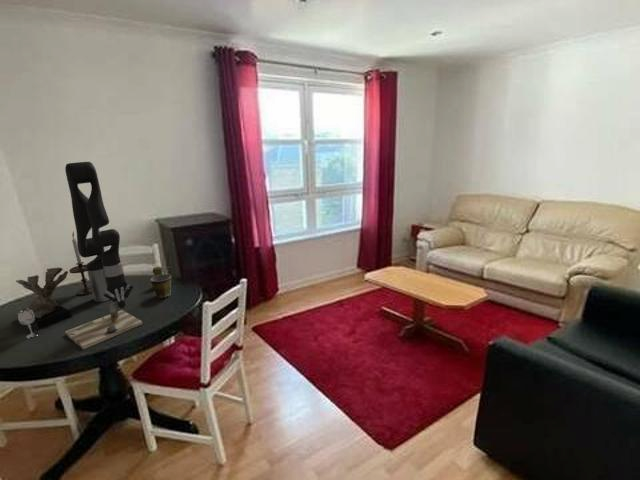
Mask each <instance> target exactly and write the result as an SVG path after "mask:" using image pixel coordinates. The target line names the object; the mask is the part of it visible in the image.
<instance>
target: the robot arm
mask: <svg viewBox="0 0 640 480" xmlns="http://www.w3.org/2000/svg"><path fill="white" fill-rule="evenodd" d="M64 169H65V170H64V171H65V175H66V180H67V183H68V184H67V185H68V189H69V193H70V198H71V199H70V200H71V207H72V208H71V209H72V213H73V214H72V215H73V220H74V224H75V225H74V226H75V229H76V230H75V231H76V241H77V245H78V251H79V254H80V257H81V258H84V259H85V258H90V257H94V256H95V258H94V259H92V260H91V261H89V262H87V264H85V265H86V269H87V271H86V272H87V275H88V279H89V284H90V287H91V289H92V296H93V301H94V302H97V303H102V302H107V301H109V300H110V301H112V302H113V303H116V305H117V308H119V309H121V310H123V309H125V307H126V301H125V300H126V299H128V298H129V296H130V294H131V292H132V290H133V288H134V286H133V285H131V284H128V283H127V282H126V278H125V273H124V268H123V265H122V261H121V257H120V241H121V239H120V234H119V231H118V230H116V229H115V228H110V229H107V230H106V229H105V230H100V229H102V228H104V227H106V226H108V225H109V223H110V219H109V216H108V213H107V210H106V207H105V205H104V201H103V196H102V191H101V186H100V183H99V182H100V181H99V178H98V172H97V169H96V167H95V165H94V164H93V163H92V162H91V161H81V162H80V161H79V162H70V163H66V164H65V168H64ZM89 183H90V187H91V190H90V195H89V197H87V196H86V195H85V194H84V193H83V191H81V189H80V188H79V185H81V184H89ZM90 231H91V237H89V238H87V237H88V234H89V232H90ZM106 247H109V248H108V249H107V250H105V248H106Z"/></svg>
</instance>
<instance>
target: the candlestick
mask: <svg viewBox="0 0 640 480" xmlns="http://www.w3.org/2000/svg"><path fill="white" fill-rule="evenodd" d="M71 243H72V246H73V249H74V253H75V257H76V260H77V263H76V264H75V265H76V266H73V267H71V268H70V269H69V270H68V271H69V274H81V279H80V281H81V282H82V286H83V288H82V289H79V290H78V291H77V296H79V297H80V296H88V295H91V294H92V295H93V293H92V289H91V286H90V287H88V281H87V280H88V279H87V277H86V276H85V272H87V269H86V265H87V264H85V262H84V261H83V262H82V257H81V256H80V254H79V251H78V245H77V238H75V231H72V240H71Z"/></svg>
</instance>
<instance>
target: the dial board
mask: <svg viewBox="0 0 640 480" xmlns="http://www.w3.org/2000/svg"><path fill="white" fill-rule="evenodd" d="M117 311H118V315H119V316H118V317H117V318H116V321H115V325H114V326H115V327H116V331H114V332H111V333H108V332H107V328H109V327H110V326H111V322H112V318H111V315H110V314H108V315H105V316H103V317H100V318H97V319H94V320H91V321H89V322H87V323H86V322H85V323H84V324H81V325H78V326H76V327H73V328H71V329H67V330H65V331H64V333H65V335H66V336H67V337H68V338H69V339H70V340H71V341H73V342H74V343H75V344H76V345H78V346H79V347H80V348H81V349H82V350H85V349H89V348H90V347H92V346H95V345H97V344H99V343H102V342H104V341H107V340H108V339H111V338H113V337H115V336H118V335H120V334H122V333H125V332H128V331H130V330H133V329H135V328H137V327H139V326H141V325H143V321H142V320H140V319H139V318H137V317H135V316H133V315H132V314H131V313H128V312H126V310H123V309H121V310H117Z"/></svg>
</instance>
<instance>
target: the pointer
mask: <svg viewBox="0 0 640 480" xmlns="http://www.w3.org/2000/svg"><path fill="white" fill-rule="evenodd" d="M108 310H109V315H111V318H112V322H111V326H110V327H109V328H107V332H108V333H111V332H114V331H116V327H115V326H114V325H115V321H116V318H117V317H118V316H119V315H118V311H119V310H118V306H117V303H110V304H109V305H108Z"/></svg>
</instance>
